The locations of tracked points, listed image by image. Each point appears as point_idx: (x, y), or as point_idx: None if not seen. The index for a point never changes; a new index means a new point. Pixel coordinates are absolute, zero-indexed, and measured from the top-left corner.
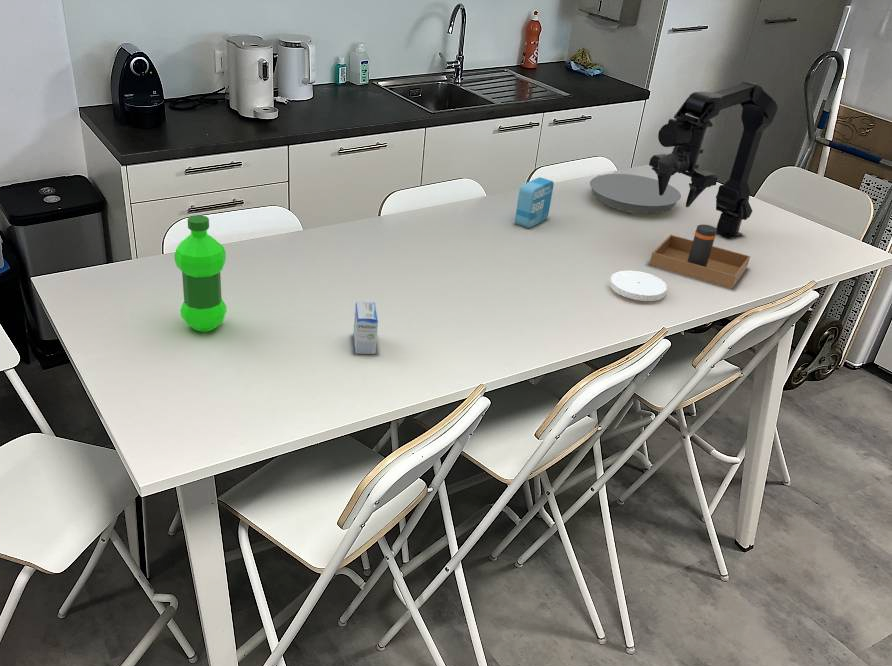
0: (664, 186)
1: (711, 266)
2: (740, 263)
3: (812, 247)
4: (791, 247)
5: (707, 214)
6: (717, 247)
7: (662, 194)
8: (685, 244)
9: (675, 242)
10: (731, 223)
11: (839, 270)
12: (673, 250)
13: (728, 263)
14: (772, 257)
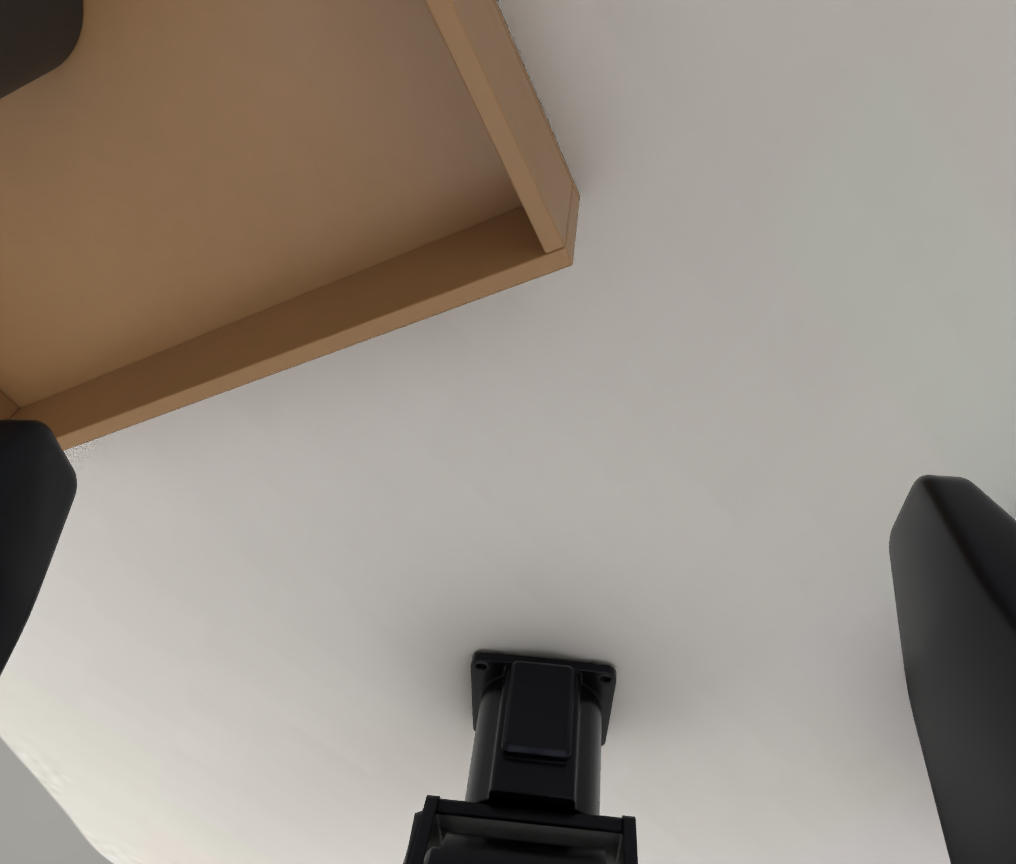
0: (984, 767)
1: (61, 208)
2: (31, 415)
3: (254, 806)
4: (276, 763)
5: (792, 792)
6: (154, 414)
7: (898, 539)
8: (401, 283)
9: (495, 243)
10: (487, 755)
11: (5, 725)
12: (468, 168)
13: (103, 374)
14: (183, 641)
